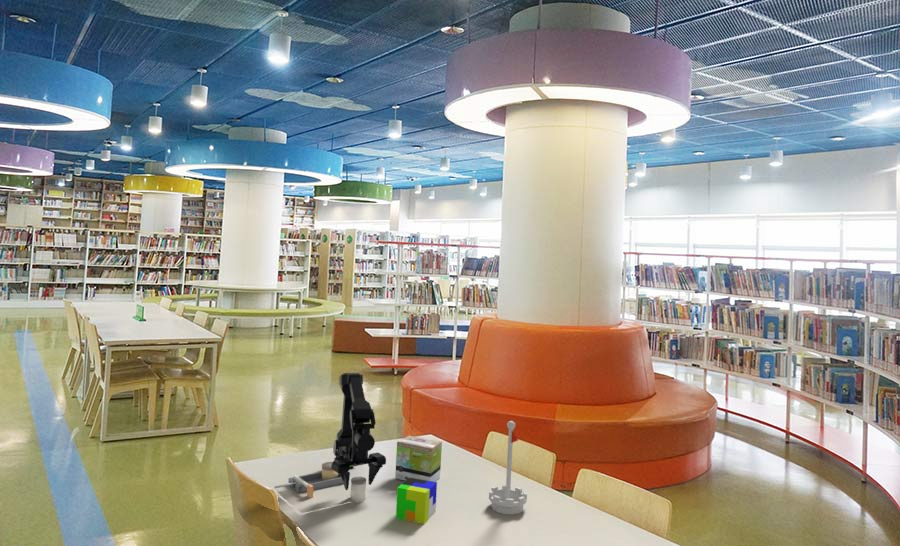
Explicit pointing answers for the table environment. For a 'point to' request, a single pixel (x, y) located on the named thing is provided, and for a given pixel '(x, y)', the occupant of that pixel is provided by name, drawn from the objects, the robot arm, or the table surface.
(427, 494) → the puzzle toy
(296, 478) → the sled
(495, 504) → the flag stand
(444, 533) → the table surface
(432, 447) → the tea box
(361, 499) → the white jar
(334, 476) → the ochre jar
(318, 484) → the grey flat frame
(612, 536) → the table surface
